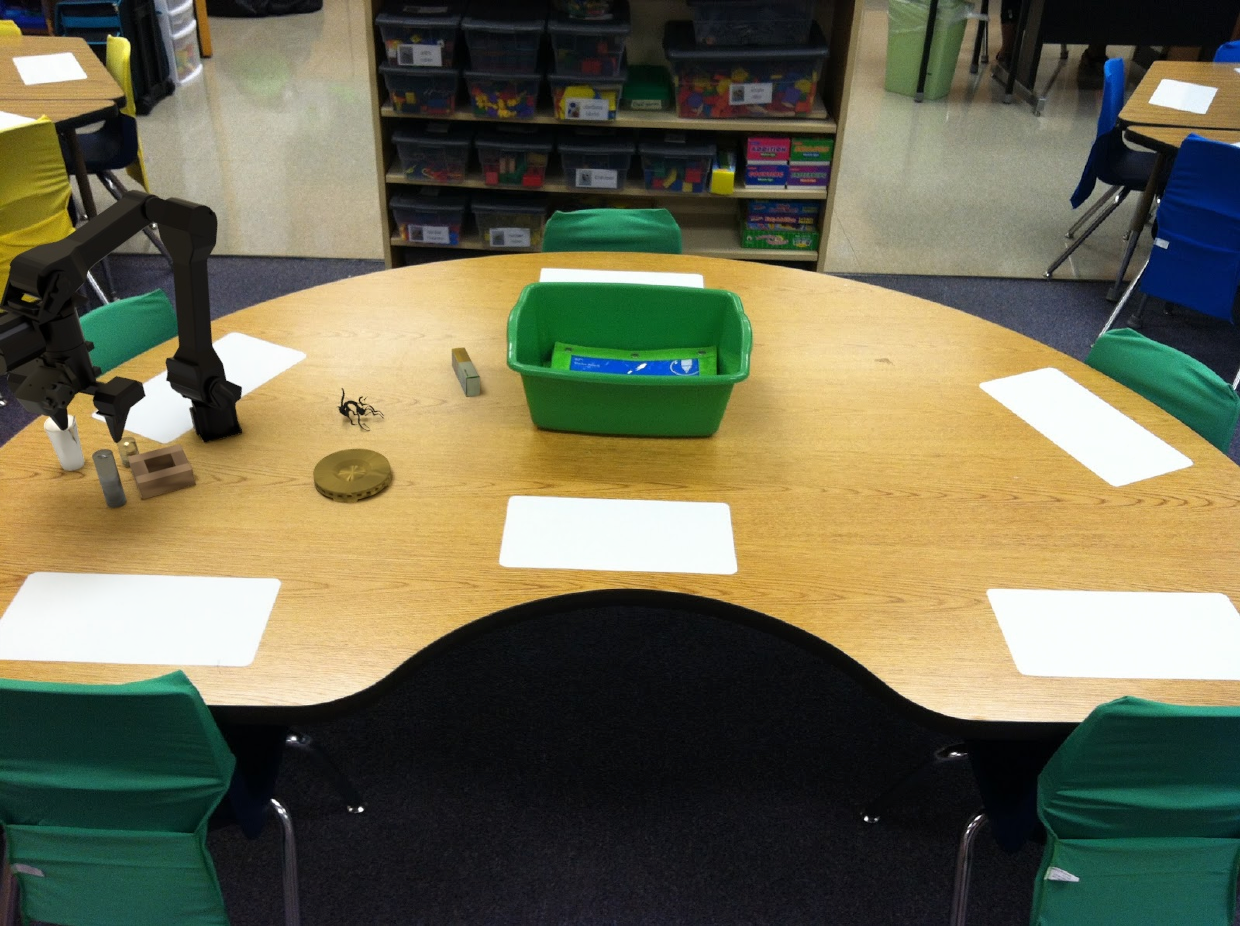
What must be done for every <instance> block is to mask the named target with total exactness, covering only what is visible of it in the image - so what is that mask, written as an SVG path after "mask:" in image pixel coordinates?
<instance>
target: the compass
mask: <svg viewBox="0 0 1240 926" xmlns="http://www.w3.org/2000/svg"><path fill="white" fill-rule="evenodd" d="M391 468H392V467H391V463H390V461H389V460H388V458H387V457H386V456H385V455H384V454H382V453H380V452H379V451H376V450H372V449H367V448H346V449H342V450H338V451H335V452H333V453H330V454H328V455H326V456H325V457H323V458H321V459H320V460H319V461H318V462H317V463H316V464H315V466H314V468H313V471H312V477H313V483H314V487H315V488H316V489H317V491H318V492H319V493H320V494H322V495H324V496H326V497H328V498H331V499H333V502H337V503H356V502H358V500H360V499H364V498H367V497H371V496H373V495H375V494H377V493H379V492H381V491H382V490H384V488H386V487H389V485H390V484H391V481H392V470H391Z"/></svg>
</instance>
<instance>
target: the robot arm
mask: <svg viewBox="0 0 1240 926" xmlns="http://www.w3.org/2000/svg"><path fill="white" fill-rule="evenodd" d="M153 223H154V224H156V225H157V229H158V234H159V239H160V241H161V243H162V245H163V246H164V248H165V249H166V252H167V253H168V254H169V256H170V258H171V261H172V262H171V263H172V271H173V282H174V283H173V285H174V297H175V298H174V299H175V310H176V323H177V325H176V326H177V336H178V337H177V339H178V347H177V348H176V351H175V352H174V354H173V355H172V356H171V357H166V359H165V367H166V374H167V375H166V378H165V379H166V380H165V381H166V382H169V385H170V388H171V390H173V391H175V392H176V393H177V394H180V396H181V397H182V398H183V399H188V400H190V401H191V402H190V403H191V406H190V407H189V414H190V417H191V422H192V427H193V429H194V431H195V433H196V435H197V436H200V437H199V438H201V441H202V442H203V443H205V444H206V443H210V442H214V441H218V440H221V439H225V438H226V439H227V438H230V437H233V436H237V435H242V433H243V431H244V430H243V428H242V427H241V424H240V423H239V418H238V413H237V408H236V406H237V402H239V401H241V400H242V396H243V395H242V393H243V391H242V390H243V386H241V385H238V384H236V383H234V382H232V381H229V380H227V375H226V372H225V367H224V363H223V362H222V360H221V358H220V356H219V355H218V352H217V351H216V350H215V348H214V346H213V335H212V322H211V320H212V318H211V317H212V316H211V305H210V304H211V301H210V300H211V299H210V290H209V289H210V287H209V272H208V270H209V269H208V259H209V258H210V256H211V254H212V252H213V251H214V249H215V247H216V245H217V238H218V237H217V236H218V225H219V224H218V216H217V213H216V212H215V211H214V210H212V208H210V207H209V206H207V205H205V204H201V203H197V202H195V201H192V200H186V199H183V198H179V197H173V196H171V197H169V198H167V199H164V198H162V197H161V198H160V196H158V195H156V194H153V193H150V192H146V191H142V190H139V189H132V190H127V191H126V192H124V194H122V196H121V198H120V199H119V200H117V201H116V202H114V203H113V204H111V205H110V206H108V207H107V208H105V209H104V210H103V211H102V212H100V213H99V214H97V215H95V216H94V217H93V218H91V219H89V220H88V221H87V222H86V223H84V224H82V225H81V226H80V227H78V228H77V229H76V230H74V231H73V232H71V233H70V234H68V235H67V236H65V237H64V238H62V239H60V240H57V241H52V242H49V243H48V242H47V243H42V244H39V245H36V246H34V247H32V248H29V249H27V250H25V251H23V252H21V253H19V254H17V255H16V256H15V257H14V258H12V259H11V261H10V263H9V267H10V268H9V271H8V272H9V273H8V277H7V281H6V284H5V287H4V291H3V294H2V297H1V300H0V310H1V311H4V312H6V313H7V314H4V315H3V316H0V376H4V375H6V374H8V373H9V374H8V376H7V379H6V382H7V385H8V388H9V391H10V393H12V394H14V398H15V399H16V400H17V401H18V402H19V404H20V405H22V407H23V408H24V409H25V411H27V412H28V413H33V414H34V413H35V414H38V415H42V416H44V417H50V418H51V419H52V420H53V421H54V422H55V424H56V425H57V426H58V427H59V428H60V430H62V431H64V430H66V429H67V428H68V406H69V405H71V403H72V401H73V400H74V399H75V397H76V396H77V394H79V393H80V394H85V395H89V396H93V398H92V404H93V406H94V408H95V409H97V410H96V411H95V414H96V415H98V416H101V417H103V418H104V421H105V422H106V423H105V424H106V426H107V428H108V431H109V434H110V436H111V438H112V441H113V443H115V444H117V443H118V442H119V441H121V439H122V438H123V437H124V436H123V435H124V431H125V427H126V423H127V419H128V416H129V413H130V411H131V409H132V407H134V406H136V404H138V403H139V402H140V401H142V400H143V399H144V398H145V397H147V396H146V393H145V388H144V385H143V382H141V381H139V380H136V379H133V378H127V377H123V376H118V375H116V376H114V377H112V378H111V379H109V381H107V382H103V381H98V380H97V378H98V377H99V376H100V375H101V374H103V371H102V368H101V367H100V366H95V365H94V364H93V361H92V358H91V355H90V352H91V351H93V350H95V348H96V347H95V344H94V341H91V340H86V338H85V335H84V331H83V328H82V323H81V321H80V317H79V315H78V311H77V309H78V308H79V307H81V306H83V305H86V304H87V303H88V304H89V302H90V298H89V297H88V296H85V295H83V294H80V293H78V292H77V291H78V290H79V289H80V288H81V287H82V286H84V284H85V282H86V280H87V279H86V278H87V277H88V273H89V271H90V270H91V269H92V268H93V267H94V266H95V265H97V264H98V263H99V262H100V261H102V260H103V259H104V258H106V257H107V256H108V255H110V254H111V253H112V252H114V251H115V250H116V249H118V248H119V247H121V246H122V245H123V244H125V243H126V242H127V241H129V240H130V239H132V238H133V237H135V236H136V235H137V234H138V233H140V232H142V231H143V230H144V229H145V228H146V227H148V226H149V225H151V224H153ZM24 296H28V297H30V298H34V299H36V300H39V301H40V302H39V303H37V304H36V303H33V302H30V301H29V300H28V301H27V300H24V299H23V297H24Z"/></svg>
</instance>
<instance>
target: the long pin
mask: <svg viewBox="0 0 1240 926" xmlns="http://www.w3.org/2000/svg"><path fill="white" fill-rule="evenodd" d="M91 457H92V461H93V464H94V468H95V472H96V474H97V476H98V480H99V484H100V487H101V490H102V494H103V497H104V500H105V504H106V506H107V507H108V508H110V509H111V508H112V509H118V508H120V507H123V506H124V505H126V504H127V502H128V500H127V497H126V493H125V490H124V487H123V483H122V479H121V476H120V472H119V469H118V466H117V463H116V459H115V456H114V452H113V450H111V449H108V448H101V449H98V450H96V451H94V452H93V453H92V455H91Z"/></svg>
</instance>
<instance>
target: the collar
mask: <svg viewBox="0 0 1240 926" xmlns="http://www.w3.org/2000/svg"><path fill="white" fill-rule="evenodd" d="M128 460H129V463H130V467H129V468H130V470H131V473H132V476H133V479H134V482H135V483H136V486H137V489H138V491H139V495H140V496H141V497H140V498H141V499H142V500H145V499H149V498H153V497H156V496H160V495H163V494H167V493H171V492H174V491H178V490H182V489H186V488H190V487H192V486H196V485H197V483H196V479H195V475H194V470H193V467H192V465H191V463H190V461H189V458H188V457H187V455H186V453H185V450H184V448H183V446H182V443H177V444H174V445H169V446H165V447H162V448H157V449H153V450H149V451H146V452H142V453H139V454H137V455H133V456H129V457H128Z"/></svg>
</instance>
